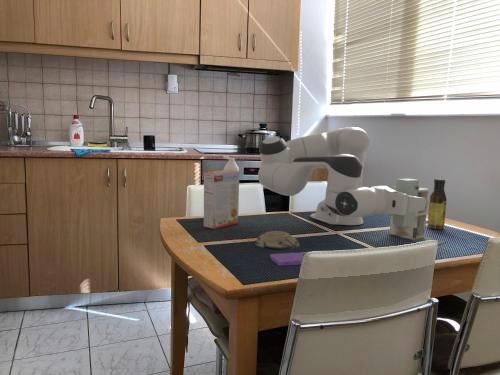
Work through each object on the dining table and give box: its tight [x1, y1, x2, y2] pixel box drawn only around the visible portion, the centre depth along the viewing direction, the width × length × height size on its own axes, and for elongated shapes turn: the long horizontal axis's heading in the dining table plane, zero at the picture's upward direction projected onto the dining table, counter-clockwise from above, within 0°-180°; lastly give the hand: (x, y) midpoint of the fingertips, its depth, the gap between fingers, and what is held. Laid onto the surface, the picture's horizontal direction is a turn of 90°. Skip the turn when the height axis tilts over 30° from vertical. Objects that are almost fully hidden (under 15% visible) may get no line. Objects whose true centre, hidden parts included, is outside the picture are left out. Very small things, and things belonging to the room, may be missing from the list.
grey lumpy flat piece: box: [254, 230, 300, 251], centre depth 142 cm, size 15×4×15 cm
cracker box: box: [203, 169, 240, 230], centre depth 162 cm, size 14×6×21 cm, turn 141°
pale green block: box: [393, 177, 420, 227], centre depth 139 cm, size 5×6×15 cm
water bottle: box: [222, 155, 240, 172], centre depth 178 cm, size 9×6×25 cm
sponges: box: [269, 251, 308, 267], centre depth 124 cm, size 7×13×2 cm, turn 107°
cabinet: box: [389, 185, 447, 246], centre depth 153 cm, size 18×10×18 cm, turn 40°
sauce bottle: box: [427, 178, 448, 231], centre depth 171 cm, size 7×6×20 cm
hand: (408, 197), depth 140 cm, fingers closed on pale green block, 4 cm apart
